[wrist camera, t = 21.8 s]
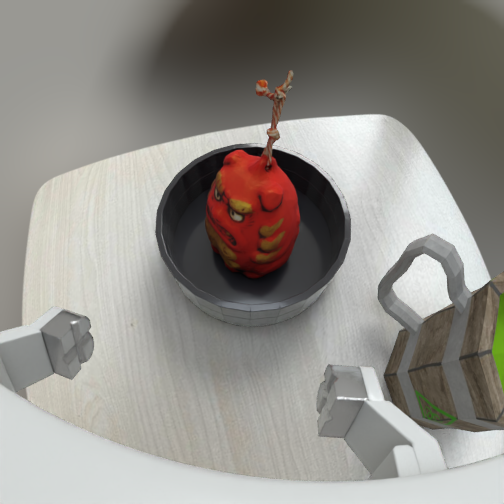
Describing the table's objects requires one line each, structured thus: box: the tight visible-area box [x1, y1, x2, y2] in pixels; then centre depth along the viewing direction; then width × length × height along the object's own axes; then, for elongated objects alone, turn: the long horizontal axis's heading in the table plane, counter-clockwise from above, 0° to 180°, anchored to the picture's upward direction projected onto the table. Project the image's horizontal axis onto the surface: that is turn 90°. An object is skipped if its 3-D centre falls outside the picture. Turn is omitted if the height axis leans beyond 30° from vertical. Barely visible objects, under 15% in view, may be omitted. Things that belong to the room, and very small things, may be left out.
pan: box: [155, 143, 351, 327], centre depth 24 cm, size 15×15×5 cm
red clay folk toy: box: [205, 70, 300, 279], centre depth 19 cm, size 8×7×15 cm
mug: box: [378, 234, 504, 432], centre depth 17 cm, size 16×11×12 cm
